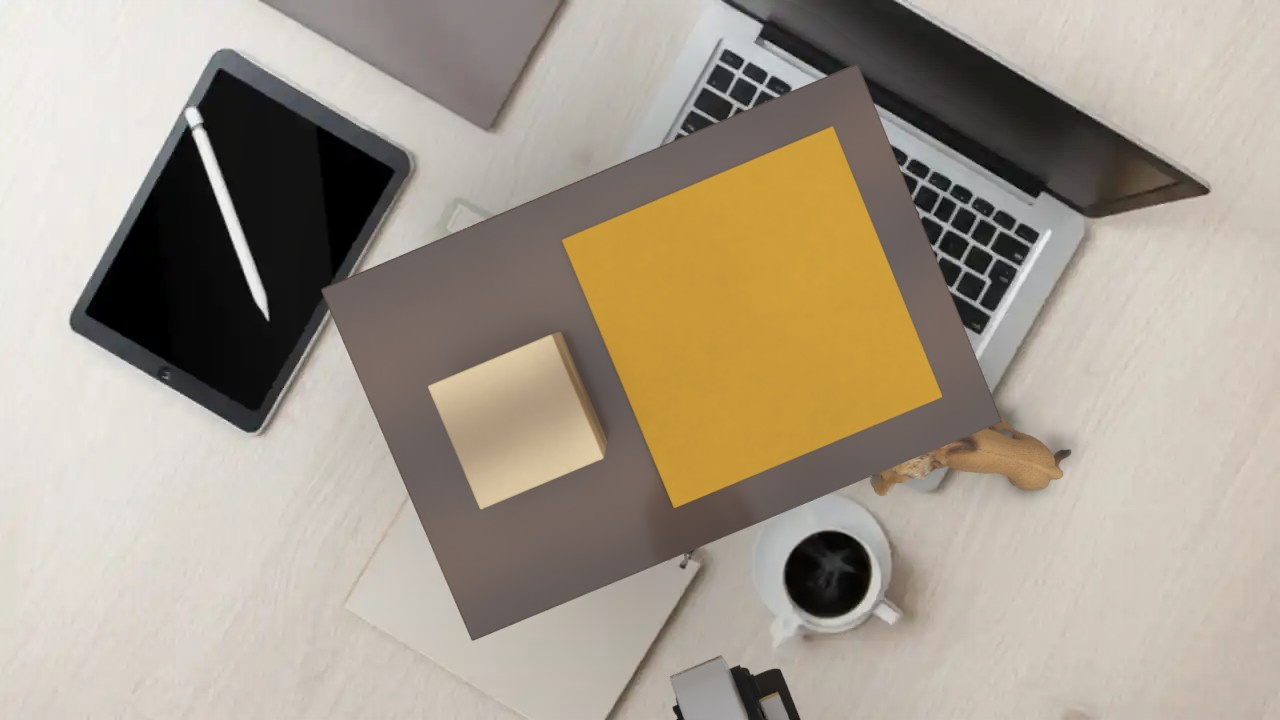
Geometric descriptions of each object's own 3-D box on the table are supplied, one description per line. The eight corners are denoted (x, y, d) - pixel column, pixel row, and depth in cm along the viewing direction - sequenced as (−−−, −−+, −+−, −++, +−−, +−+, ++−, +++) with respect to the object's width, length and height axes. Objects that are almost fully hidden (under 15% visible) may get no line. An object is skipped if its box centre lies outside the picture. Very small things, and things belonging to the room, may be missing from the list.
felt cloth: (940, 396, 46) (943, 397, 45) (673, 506, 46) (673, 508, 45) (831, 127, 45) (833, 125, 45) (561, 240, 45) (561, 239, 45)
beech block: (608, 442, 46) (604, 458, 41) (497, 488, 46) (479, 510, 41) (561, 331, 45) (551, 333, 40) (450, 377, 45) (427, 386, 40)
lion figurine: (841, 478, 72) (870, 502, 63) (845, 397, 72) (875, 410, 63) (1065, 489, 72) (1125, 514, 63) (1070, 408, 72) (1132, 422, 63)
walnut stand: (870, 381, 72) (1002, 422, 46) (531, 521, 72) (471, 641, 46) (777, 153, 71) (858, 62, 45) (436, 296, 71) (319, 289, 45)
